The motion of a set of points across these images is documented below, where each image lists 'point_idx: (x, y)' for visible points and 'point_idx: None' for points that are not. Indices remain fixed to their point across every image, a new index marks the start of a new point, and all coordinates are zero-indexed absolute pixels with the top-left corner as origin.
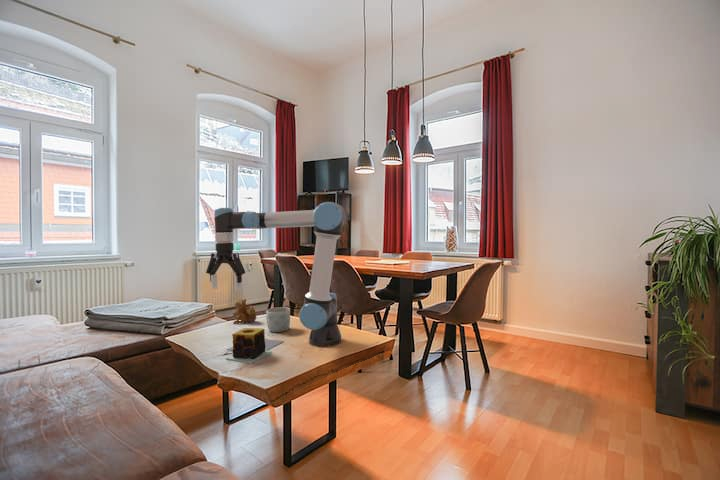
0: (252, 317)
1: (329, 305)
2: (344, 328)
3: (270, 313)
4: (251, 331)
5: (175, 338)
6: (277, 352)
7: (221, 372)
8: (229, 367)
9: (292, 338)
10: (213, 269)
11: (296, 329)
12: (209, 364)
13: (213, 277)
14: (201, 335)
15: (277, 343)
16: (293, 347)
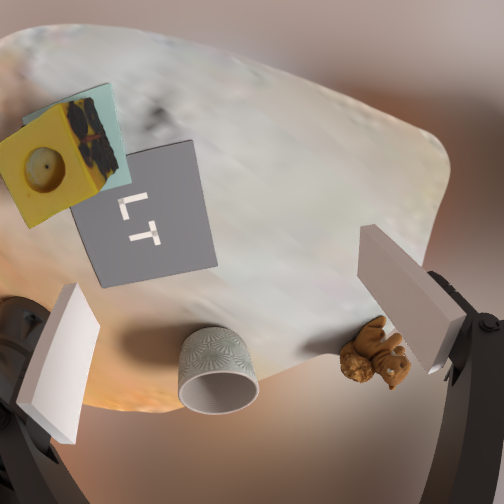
0: (344, 356)
1: None
2: (88, 401)
3: (212, 368)
4: (53, 188)
5: (441, 154)
6: None
7: (44, 27)
8: (51, 57)
9: (110, 316)
10: (479, 395)
11: (173, 366)
12: (125, 30)
13: (426, 314)
14: (398, 205)
15: (97, 265)
16: (42, 266)
